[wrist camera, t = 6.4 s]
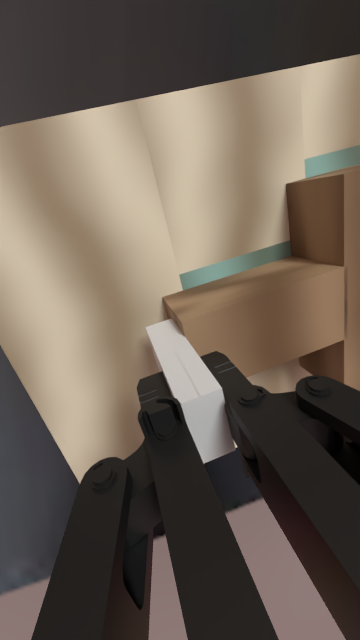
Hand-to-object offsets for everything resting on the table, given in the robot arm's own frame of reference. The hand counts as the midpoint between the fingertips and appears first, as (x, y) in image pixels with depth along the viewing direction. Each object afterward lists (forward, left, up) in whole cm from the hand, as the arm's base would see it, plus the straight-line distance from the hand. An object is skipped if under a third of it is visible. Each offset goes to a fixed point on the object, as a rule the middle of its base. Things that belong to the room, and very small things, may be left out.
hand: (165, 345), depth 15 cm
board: (+6, 0, -3) cm, 7 cm away
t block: (+7, 0, -2) cm, 7 cm away
